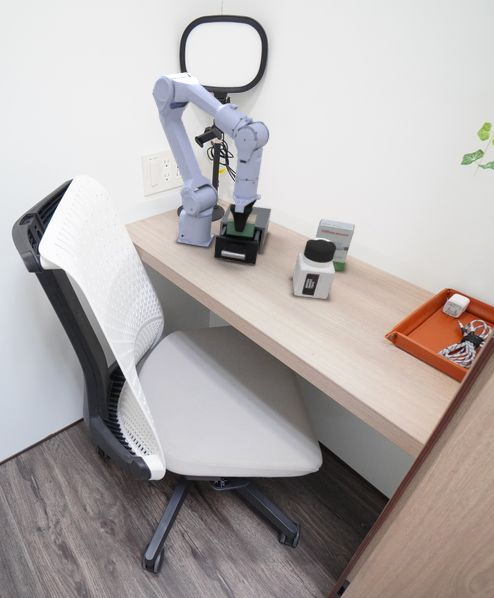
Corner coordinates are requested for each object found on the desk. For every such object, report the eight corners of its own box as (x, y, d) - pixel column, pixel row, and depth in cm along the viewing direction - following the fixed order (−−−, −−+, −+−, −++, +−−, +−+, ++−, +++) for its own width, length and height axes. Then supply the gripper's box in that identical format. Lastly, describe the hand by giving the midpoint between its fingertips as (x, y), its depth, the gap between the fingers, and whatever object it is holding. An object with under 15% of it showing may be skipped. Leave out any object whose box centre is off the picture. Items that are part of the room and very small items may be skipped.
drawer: (252, 272, 93) (256, 251, 90) (210, 265, 96) (211, 244, 92) (261, 243, 106) (264, 223, 102) (223, 237, 109) (225, 218, 105)
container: (327, 299, 86) (342, 252, 78) (293, 295, 87) (305, 248, 79) (323, 282, 92) (337, 236, 84) (292, 278, 93) (303, 232, 85)
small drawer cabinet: (261, 253, 103) (265, 227, 98) (218, 246, 106) (220, 221, 102) (267, 233, 114) (271, 208, 109) (227, 227, 117) (230, 203, 112)
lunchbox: (226, 234, 97) (227, 218, 94) (228, 227, 100) (230, 211, 98) (252, 237, 96) (255, 221, 93) (254, 230, 99) (256, 214, 96)
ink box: (343, 263, 99) (356, 223, 92) (341, 271, 96) (355, 231, 89) (310, 256, 102) (321, 217, 95) (308, 264, 99) (318, 224, 92)
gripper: (259, 188, 82) (251, 241, 91) (267, 169, 93) (259, 218, 102) (228, 185, 84) (224, 237, 92) (240, 167, 95) (234, 215, 103)
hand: (240, 227), depth 97 cm, fingers closed on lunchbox, 4 cm apart
